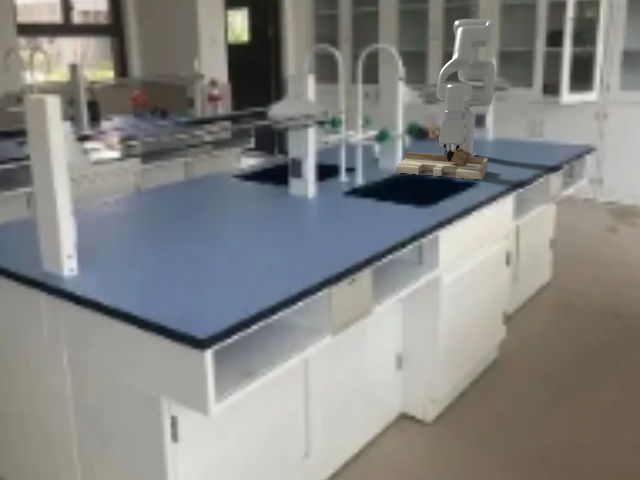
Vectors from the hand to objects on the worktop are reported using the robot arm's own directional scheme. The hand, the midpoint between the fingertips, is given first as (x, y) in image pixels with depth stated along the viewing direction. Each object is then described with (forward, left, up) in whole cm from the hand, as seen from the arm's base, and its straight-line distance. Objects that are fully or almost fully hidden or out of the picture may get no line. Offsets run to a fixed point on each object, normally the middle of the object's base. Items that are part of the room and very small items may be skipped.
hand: (450, 160), depth 287 cm
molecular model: (-14, +2, -5) cm, 15 cm away
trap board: (+4, -3, -4) cm, 6 cm away
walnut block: (+1, +3, 0) cm, 4 cm away
